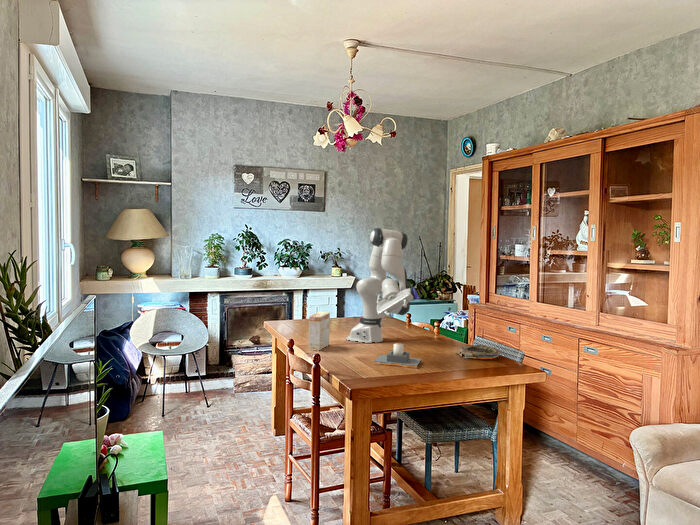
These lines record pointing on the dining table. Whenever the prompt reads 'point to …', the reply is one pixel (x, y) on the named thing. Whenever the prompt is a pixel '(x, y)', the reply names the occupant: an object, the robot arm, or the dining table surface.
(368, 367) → the dining table surface
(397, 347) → the paper roll
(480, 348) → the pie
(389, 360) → the roll caddy
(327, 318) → the coffeecake box
